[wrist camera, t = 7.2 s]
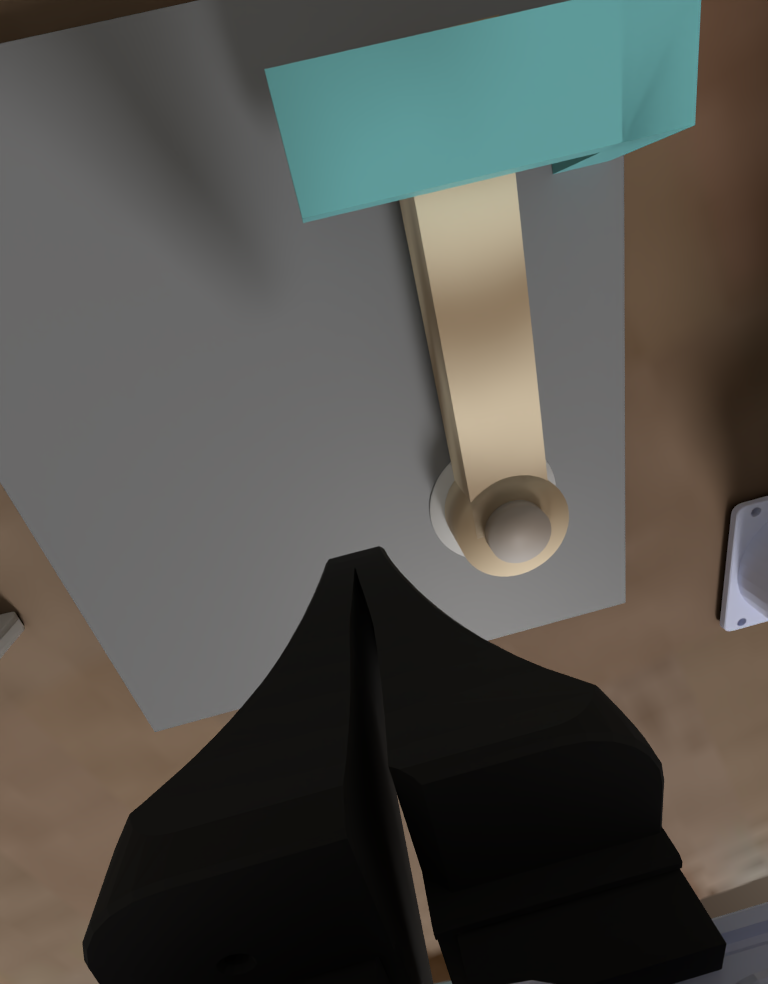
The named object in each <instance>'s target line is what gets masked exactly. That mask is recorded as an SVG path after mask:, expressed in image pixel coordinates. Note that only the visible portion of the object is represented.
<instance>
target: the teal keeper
mask: <svg viewBox="0 0 768 984" xmlns="http://www.w3.org/2000/svg"><path fill="white" fill-rule="evenodd" d="M700 11H701V0H570V1H565V2H561V3H556V4H552V5H547V6H543V7H539V8H534V9H530V10H525V11H521V12H516V13H512V14H508V15H503V16H499V17H494V18H490V19H485V20H481V21H476V22H472V23H468V24H463V25H459V26H454V27H450V28H445V29H441V30H436V31H432V32H428V33H423V34H419V35H414V36H410V37H405V38H401V39H397V40H392V41H388V42H383V43H379V44H374V45H370V46H365V47H361V48H357V49H352V50H348V51H343V52H339V53H334V54H330V55H325V56H321V57H317V58H312V59H308V60H303V61H299V62H294V63H290V64H286V65H281V66H277V67H272V68H268V69H264V70H265V74H266V79H267V83H268V87H269V91H270V95H271V99H272V103H273V107H274V111H275V115H276V119H277V123H278V127H279V131H280V134H281V138H282V142H283V146H284V150H285V154H286V158H287V162H288V166H289V170H290V174H291V178H292V181H293V185H294V189H295V193H296V197H297V201H298V205H299V209H300V213H301V217H302V221H303V223H306V222H310V221H314V220H318V219H323V218H327V217H331V216H335V215H339V214H344V213H348V212H352V211H356V210H360V209H365V208H369V207H373V206H377V205H381V204H386V203H390V202H394V201H398V200H402V199H407V198H411V197H415V196H419V195H423V194H428V193H432V192H436V191H440V190H444V189H449V188H453V187H457V186H461V185H465V184H470V183H474V182H478V181H482V180H486V179H491V178H495V177H499V176H503V175H507V174H512V173H516V172H520V171H524V170H528V169H533V168H537V167H541V166H545V165H549V164H552V170H553V174H556V173H561V172H565V171H569V170H573V169H577V168H581V167H586V166H590V165H594V164H598V163H602V162H607V161H610V160H613V159H615V158H617V157H620V156H622V155H625V154H627V153H629V152H632V151H634V150H637V149H639V148H641V147H644V146H646V145H649V144H651V143H653V142H656V141H658V140H661V139H663V138H665V137H668V136H670V135H673V134H675V133H677V132H680V131H682V130H684V129H687V128H689V127H692V126H694V125H695V114H696V93H697V72H698V52H699V31H700Z"/></svg>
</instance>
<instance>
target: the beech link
mask: <svg viewBox="0 0 768 984" xmlns="http://www.w3.org/2000/svg"><path fill="white" fill-rule="evenodd" d="M494 17H499V14H498V15H494V16H490V17H486V18H483V19H479V20H475V21H471V22H467V23H463V24H468V23H472V22H476V21H481V20H485V19H490V18H494ZM463 24H459V25H463ZM459 25H455V26H459ZM452 27H454V26H452ZM448 28H450V27H448ZM444 29H445V28H444ZM440 30H441V29H440ZM399 202H400V207H401V212H402V217H403V222H404V227H405V232H406V237H407V242H408V247H409V252H410V257H411V262H412V268H413V273H414V278H415V283H416V288H417V293H418V298H419V303H420V308H421V313H422V318H423V323H424V328H425V333H426V338H427V343H428V349H429V354H430V359H431V364H432V369H433V374H434V379H435V384H436V389H437V394H438V399H439V404H440V409H441V414H442V419H443V424H444V430H445V435H446V440H447V445H448V450H449V455H450V460H451V465H452V470H453V475H454V480H455V481H454V482H453V484H452V485H451V487H450V489H449V491H448V494H447V497H446V501H445V519H446V522H447V525H448V527H449V529H450V531H451V533H452V534H453V536H454V538H455V540H456V542H457V543H458V545H459V547H460V549H461V550H462V552H463V554H464V556H465V557H466V559H467V560H468V561H469V562H470V564H471V565H472V566H474V567H475V568H476V569H478V570H480V571H481V572H484V573H486V574H489V575H493V576H500V577H508V576H515V575H520V574H523V573H526V572H529V571H531V570H533V569H535V568H537V567H538V566H540V565H541V564H543V563H544V562H545V561H547V560H548V559H549V558H550V557H551V556H552V555H553V554H554V553H555V551H556V550H557V549H558V547H559V546H560V545H561V543H562V541H563V539H564V537H565V534H566V532H567V528H568V523H569V510H568V505H567V502H566V500H565V498H564V496H563V494H562V493H561V491H560V490H559V489H558V488H557V487H556V486H555V485H554V484H553V483H551V482H550V481H549V480H548V478H547V468H546V459H545V449H544V440H543V430H542V421H541V411H540V402H539V392H538V383H537V373H536V364H535V354H534V345H533V335H532V326H531V316H530V307H529V297H528V288H527V278H526V269H525V259H524V250H523V240H522V230H521V221H520V211H519V202H518V192H517V183H516V173H512V174H507V175H503V176H499V177H495V178H491V179H486V180H482V181H478V182H474V183H470V184H465V185H461V186H457V187H453V188H449V189H444V190H440V191H436V192H432V193H428V194H423V195H419V196H415V197H411V198H407V199H402V200H399Z"/></svg>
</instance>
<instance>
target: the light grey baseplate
mask: <svg viewBox="0 0 768 984" xmlns="http://www.w3.org/2000/svg"><path fill="white" fill-rule="evenodd" d="M565 1H570V0H198V1H193V2H188V3H184V4H179V5H175V6H170V7H166V8H161V9H156V10H152V11H147V12H143V13H138V14H133V15H129V16H124V17H120V18H115V19H111V20H106V21H101V22H97V23H92V24H88V25H83V26H79V27H74V28H69V29H65V30H60V31H56V32H51V33H47V34H42V35H37V36H33V37H28V38H24V39H19V40H15V41H10V42H5V43H1V44H0V483H1V484H2V486H3V487H4V489H5V491H6V492H7V494H8V496H9V497H10V499H11V500H12V502H13V504H14V505H15V507H16V508H17V510H18V512H19V513H20V515H21V517H22V518H23V520H24V521H25V523H26V525H27V526H28V528H29V530H30V531H31V533H32V534H33V536H34V538H35V539H36V541H37V542H38V544H39V546H40V547H41V549H42V551H43V552H44V554H45V555H46V557H47V559H48V560H49V562H50V563H51V565H52V567H53V568H54V570H55V572H56V573H57V575H58V576H59V578H60V580H61V581H62V583H63V584H64V586H65V588H66V589H67V591H68V593H69V594H70V596H71V597H72V599H73V601H74V602H75V604H76V605H77V607H78V609H79V610H80V612H81V614H82V615H83V617H84V618H85V620H86V622H87V623H88V625H89V626H90V628H91V630H92V631H93V633H94V635H95V636H96V638H97V639H98V641H99V643H100V644H101V646H102V647H103V649H104V651H105V652H106V654H107V656H108V657H109V659H110V660H111V662H112V664H113V665H114V667H115V668H116V670H117V672H118V673H119V675H120V677H121V678H122V680H123V681H124V683H125V685H126V686H127V688H128V689H129V691H130V693H131V694H132V696H133V698H134V699H135V701H136V702H137V704H138V706H139V707H140V709H141V710H142V712H143V714H144V715H145V717H146V719H147V720H148V722H149V723H150V725H151V727H152V728H153V730H154V732H157V731H161V730H164V729H168V728H172V727H175V726H179V725H182V724H186V723H190V722H193V721H197V720H201V719H204V718H208V717H212V716H215V715H219V714H222V713H226V712H230V711H233V710H237V709H240V708H241V707H242V706H243V705H244V703H245V702H246V701H247V700H248V699H249V697H250V696H251V695H252V694H253V693H254V691H255V690H256V689H257V688H258V687H259V685H260V684H261V683H262V682H263V680H264V679H265V678H266V676H267V675H268V673H269V672H270V671H271V669H272V668H273V666H274V665H275V663H276V662H277V660H278V659H279V657H280V656H281V654H282V653H283V651H284V649H285V648H286V646H287V645H288V643H289V641H290V639H291V638H292V636H293V634H294V632H295V630H296V629H297V627H298V625H299V623H300V622H301V620H302V618H303V616H304V614H305V612H306V610H307V607H308V605H309V603H310V601H311V599H312V597H313V595H314V593H315V590H316V588H317V586H318V583H319V581H320V578H321V576H322V573H323V570H324V568H325V565H326V563H327V562H328V560H329V559H331V558H335V557H339V556H343V555H347V554H350V553H354V552H358V551H362V550H366V549H370V548H373V547H377V546H380V547H382V548H384V549H385V551H386V553H387V555H388V556H389V558H390V559H391V561H392V562H393V563H394V565H395V566H396V567H397V568H398V569H399V571H400V572H401V573H402V574H403V575H404V576H405V577H406V578H407V579H408V580H409V581H410V582H411V583H412V584H413V585H414V586H415V587H416V588H417V590H419V591H420V592H421V593H422V594H423V595H424V596H425V597H426V598H427V599H428V600H430V601H431V602H432V603H433V604H434V605H436V606H437V607H438V608H439V609H440V610H442V611H443V612H444V613H446V614H447V615H448V616H450V617H451V618H452V619H454V620H455V621H457V622H458V623H460V624H461V625H462V626H464V627H465V628H467V629H469V630H470V631H472V632H473V633H475V634H477V635H478V636H480V637H481V638H483V639H485V640H487V641H488V640H491V639H495V638H499V637H502V636H506V635H510V634H513V633H517V632H521V631H524V630H528V629H531V628H535V627H539V626H542V625H546V624H550V623H553V622H557V621H561V620H564V619H568V618H571V617H575V616H579V615H582V614H586V613H590V612H593V611H597V610H601V609H604V608H608V607H611V606H615V605H619V604H622V603H625V343H624V155H622V156H620V157H617V158H615V159H613V160H610V161H607V162H602V163H598V164H594V165H590V166H586V167H581V168H577V169H573V170H569V171H565V172H561V173H556V174H553V170H552V164H549V165H545V166H541V167H537V168H533V169H528V170H524V171H520V172H516V183H517V192H518V202H519V211H520V221H521V230H522V240H523V250H524V259H525V269H526V278H527V288H528V297H529V307H530V316H531V326H532V335H533V345H534V354H535V364H536V373H537V383H538V392H539V402H540V411H541V421H542V430H543V440H544V449H545V459H546V468H547V478H548V480H549V481H550V482H551V483H553V484H554V485H555V486H556V487H557V488H558V489H559V490H560V491H561V493H562V494H563V496H564V498H565V500H566V502H567V505H568V510H569V523H568V528H567V532H566V534H565V537H564V539H563V541H562V543H561V545H560V546H559V547H558V549H557V550H556V551H555V553H554V554H553V555H552V556H551V557H550V558H549V559H548V560H547V561H545V562H544V563H543V564H541V565H540V566H538V567H537V568H535V569H533V570H531V571H529V572H526V573H523V574H520V575H515V576H508V577H500V576H493V575H489V574H486V573H484V572H481V571H480V570H478V569H476V568H475V567H474V566H472V565H471V564H470V562H469V561H468V560H467V559H466V557H465V556H464V554H463V552H462V550H461V549H460V547H459V545H458V543H457V542H456V540H455V538H454V536H453V534H452V533H451V531H450V529H449V527H448V525H447V522H446V519H445V501H446V497H447V494H448V491H449V489H450V487H451V485H452V484H453V482H454V481H455V480H454V475H453V470H452V465H451V460H450V455H449V450H448V445H447V440H446V435H445V430H444V424H443V419H442V414H441V409H440V404H439V399H438V394H437V389H436V384H435V379H434V374H433V369H432V364H431V359H430V354H429V349H428V343H427V338H426V333H425V328H424V323H423V318H422V313H421V308H420V303H419V298H418V293H417V288H416V283H415V278H414V273H413V268H412V262H411V257H410V252H409V247H408V242H407V237H406V232H405V227H404V222H403V217H402V212H401V207H400V202H399V200H398V201H394V202H390V203H386V204H381V205H377V206H373V207H369V208H365V209H360V210H356V211H352V212H348V213H344V214H339V215H335V216H331V217H327V218H323V219H318V220H314V221H310V222H306V223H303V221H302V217H301V213H300V209H299V205H298V201H297V197H296V193H295V189H294V185H293V181H292V178H291V174H290V170H289V166H288V162H287V158H286V154H285V150H284V146H283V142H282V138H281V134H280V131H279V127H278V123H277V119H276V115H275V111H274V107H273V103H272V99H271V95H270V91H269V87H268V83H267V79H266V74H265V70H264V69H268V68H272V67H277V66H281V65H286V64H290V63H294V62H299V61H303V60H308V59H312V58H317V57H321V56H325V55H330V54H334V53H339V52H343V51H348V50H352V49H357V48H361V47H365V46H370V45H374V44H379V43H383V42H388V41H392V40H397V39H401V38H405V37H410V36H414V35H419V34H423V33H428V32H432V31H436V30H440V29H444V28H448V27H452V26H455V25H459V24H463V23H467V22H471V21H475V20H479V19H483V18H486V17H490V16H494V15H498V14H499V16H503V15H508V14H512V13H516V12H521V11H525V10H530V9H534V8H539V7H543V6H547V5H552V4H556V3H561V2H565Z"/></svg>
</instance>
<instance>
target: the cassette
mask: <svg viewBox="0 0 768 984" xmlns="http://www.w3.org/2000/svg"><path fill="white" fill-rule="evenodd" d="M24 629H25V627H24V625H23V624H22V622H21V621H20V619H19V618H18V616H17V615H16V613H15V612H9V613H5V614H1V615H0V658H1V657H2V656H3V655H4V653H5V652H6V651H7V650H8V649H9V647H10V646H11V645H12V644H13V643H14V641H15V640H16V639H17V638H18V637H19V635H20V634H21V633H22V632H23V631H24Z"/></svg>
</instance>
